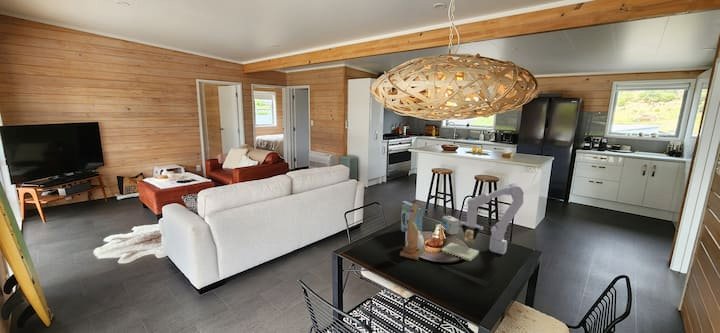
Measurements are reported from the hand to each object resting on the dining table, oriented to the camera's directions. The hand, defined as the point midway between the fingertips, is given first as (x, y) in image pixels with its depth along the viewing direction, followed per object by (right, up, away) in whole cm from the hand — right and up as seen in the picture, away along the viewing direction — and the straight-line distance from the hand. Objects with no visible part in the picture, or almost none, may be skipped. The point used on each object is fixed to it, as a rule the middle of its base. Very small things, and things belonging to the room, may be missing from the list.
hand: (470, 238), depth 189 cm
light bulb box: (-5, -2, +25) cm, 26 cm away
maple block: (0, -2, 0) cm, 2 cm away
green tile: (-9, -7, -7) cm, 13 cm away
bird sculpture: (-39, -7, -13) cm, 42 cm away
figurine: (-37, -7, -7) cm, 38 cm away
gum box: (-35, -3, +15) cm, 39 cm away
